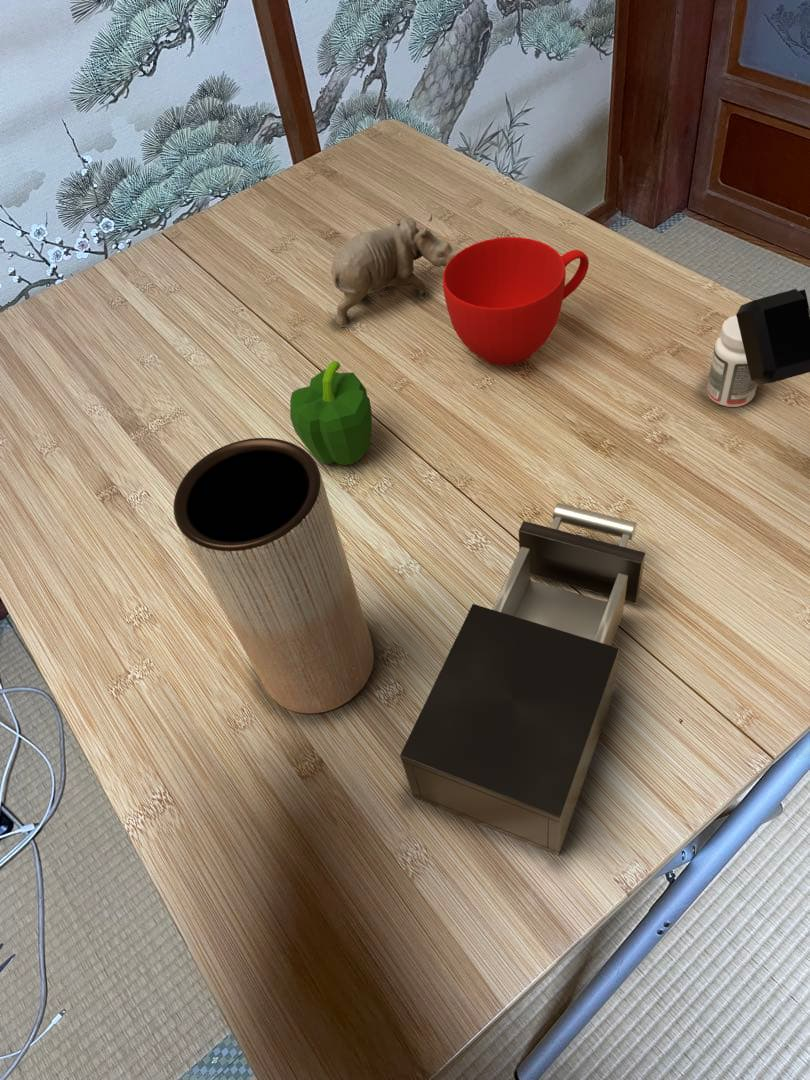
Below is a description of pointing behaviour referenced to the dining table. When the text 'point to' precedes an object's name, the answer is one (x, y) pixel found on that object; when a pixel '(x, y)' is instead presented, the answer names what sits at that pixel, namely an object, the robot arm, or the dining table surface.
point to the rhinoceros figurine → (384, 262)
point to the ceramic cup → (508, 295)
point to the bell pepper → (333, 416)
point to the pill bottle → (730, 369)
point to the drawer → (574, 574)
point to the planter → (278, 570)
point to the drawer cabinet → (512, 726)
